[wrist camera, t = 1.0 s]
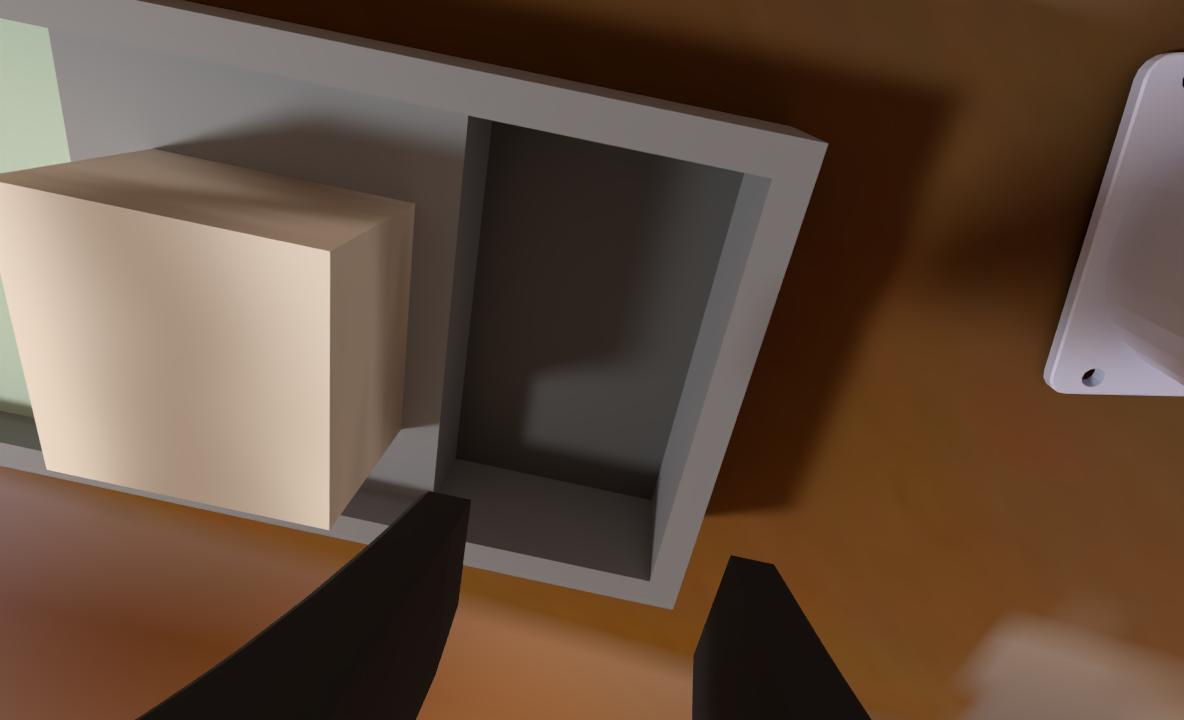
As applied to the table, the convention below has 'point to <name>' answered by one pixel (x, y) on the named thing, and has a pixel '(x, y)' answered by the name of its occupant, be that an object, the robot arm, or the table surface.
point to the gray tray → (468, 261)
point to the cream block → (209, 328)
